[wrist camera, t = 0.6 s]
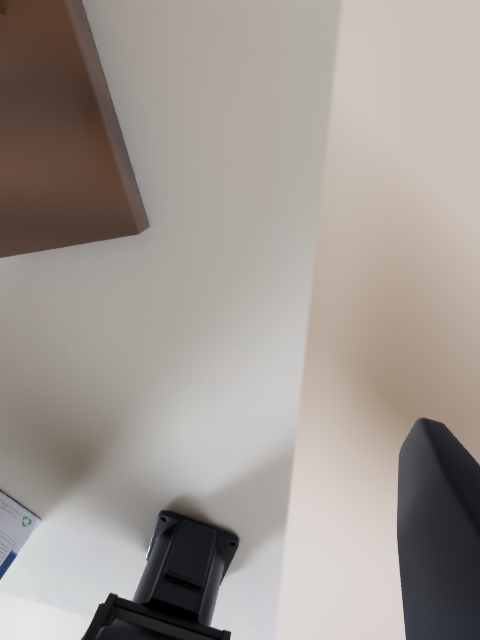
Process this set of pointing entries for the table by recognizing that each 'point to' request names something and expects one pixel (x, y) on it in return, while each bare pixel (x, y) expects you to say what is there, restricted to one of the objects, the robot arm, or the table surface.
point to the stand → (59, 135)
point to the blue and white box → (13, 530)
